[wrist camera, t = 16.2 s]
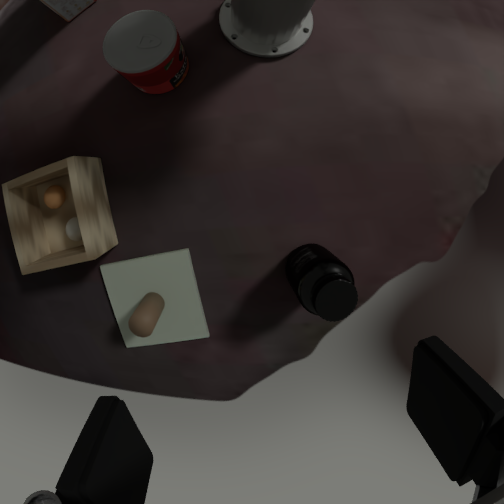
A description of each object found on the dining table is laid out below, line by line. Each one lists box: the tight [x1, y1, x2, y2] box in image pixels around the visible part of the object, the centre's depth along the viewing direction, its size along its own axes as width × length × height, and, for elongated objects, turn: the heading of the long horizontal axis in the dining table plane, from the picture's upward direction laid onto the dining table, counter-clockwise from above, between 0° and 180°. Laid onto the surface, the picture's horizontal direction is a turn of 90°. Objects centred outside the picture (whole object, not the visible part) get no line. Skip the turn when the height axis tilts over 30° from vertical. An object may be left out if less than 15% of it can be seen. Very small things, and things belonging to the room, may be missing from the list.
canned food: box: [103, 10, 189, 94], centre depth 30 cm, size 8×8×11 cm
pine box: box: [2, 156, 118, 275], centre depth 35 cm, size 12×12×8 cm
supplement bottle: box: [286, 244, 358, 322], centre depth 37 cm, size 7×7×12 cm
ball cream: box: [66, 217, 82, 241], centre depth 37 cm, size 3×3×3 cm
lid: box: [100, 248, 209, 348], centre depth 39 cm, size 13×13×8 cm
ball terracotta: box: [44, 185, 65, 209], centre depth 36 cm, size 3×3×3 cm
